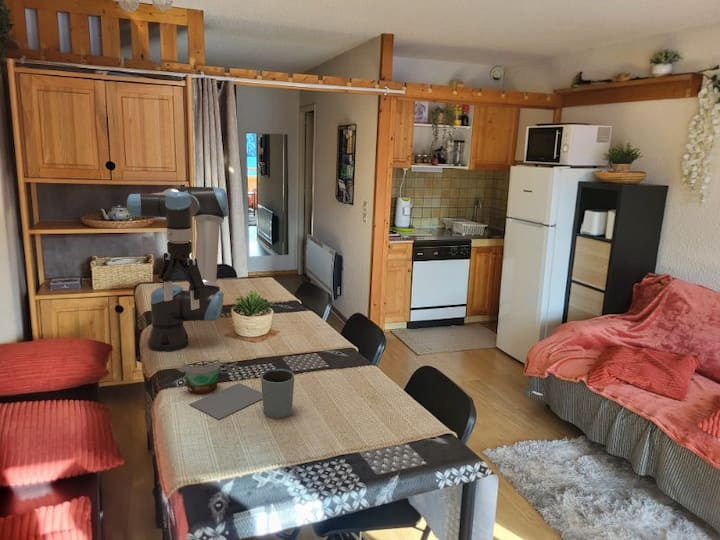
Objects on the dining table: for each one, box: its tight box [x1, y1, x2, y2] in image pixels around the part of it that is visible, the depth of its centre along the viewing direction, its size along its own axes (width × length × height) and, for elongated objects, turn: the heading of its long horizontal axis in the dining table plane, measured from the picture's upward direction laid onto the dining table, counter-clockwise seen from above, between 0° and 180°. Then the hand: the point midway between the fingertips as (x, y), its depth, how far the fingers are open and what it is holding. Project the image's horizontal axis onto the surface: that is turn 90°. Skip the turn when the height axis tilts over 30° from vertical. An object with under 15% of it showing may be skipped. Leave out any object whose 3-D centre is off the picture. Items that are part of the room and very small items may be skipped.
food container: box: [181, 357, 222, 395], centre depth 173 cm, size 12×6×10 cm, turn 118°
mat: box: [188, 382, 263, 421], centre depth 169 cm, size 14×20×1 cm
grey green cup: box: [260, 368, 295, 420], centre depth 163 cm, size 10×10×12 cm
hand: (181, 304), depth 176 cm, fingers open, 13 cm apart
